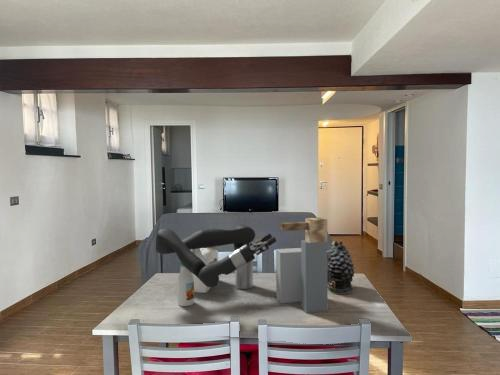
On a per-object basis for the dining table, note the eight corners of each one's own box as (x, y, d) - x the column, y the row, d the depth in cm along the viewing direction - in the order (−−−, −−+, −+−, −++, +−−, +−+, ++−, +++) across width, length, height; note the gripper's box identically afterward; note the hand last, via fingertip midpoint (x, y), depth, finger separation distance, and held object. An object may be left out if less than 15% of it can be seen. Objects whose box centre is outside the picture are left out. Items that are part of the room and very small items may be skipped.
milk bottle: (180, 307, 159) (179, 265, 158) (175, 302, 166) (174, 261, 165) (196, 304, 163) (195, 262, 162) (191, 299, 170) (190, 259, 169)
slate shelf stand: (288, 314, 151) (287, 243, 149) (276, 297, 171) (275, 235, 170) (327, 311, 154) (327, 241, 152) (311, 294, 174) (310, 233, 173)
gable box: (205, 293, 178) (204, 239, 177) (181, 291, 181) (180, 238, 180) (218, 279, 200) (217, 231, 199) (197, 278, 203) (196, 231, 202)
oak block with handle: (283, 244, 149) (283, 220, 148) (279, 241, 155) (279, 219, 154) (327, 241, 152) (327, 219, 152) (322, 239, 158) (322, 217, 158)
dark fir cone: (319, 283, 192) (318, 238, 191) (345, 282, 193) (345, 237, 192) (331, 296, 171) (331, 246, 170) (360, 295, 172) (360, 245, 171)
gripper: (239, 253, 143) (272, 232, 145) (235, 245, 158) (265, 227, 159) (248, 268, 144) (281, 247, 146) (243, 259, 158) (273, 241, 160)
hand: (273, 237), depth 153 cm, fingers open, 8 cm apart
